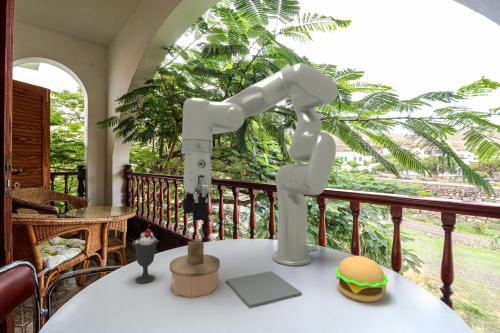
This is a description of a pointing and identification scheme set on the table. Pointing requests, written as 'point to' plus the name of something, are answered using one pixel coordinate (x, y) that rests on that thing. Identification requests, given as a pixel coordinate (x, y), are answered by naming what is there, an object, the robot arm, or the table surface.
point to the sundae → (145, 254)
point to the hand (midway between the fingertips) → (194, 216)
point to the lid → (194, 262)
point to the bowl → (194, 284)
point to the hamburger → (361, 279)
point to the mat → (262, 288)
